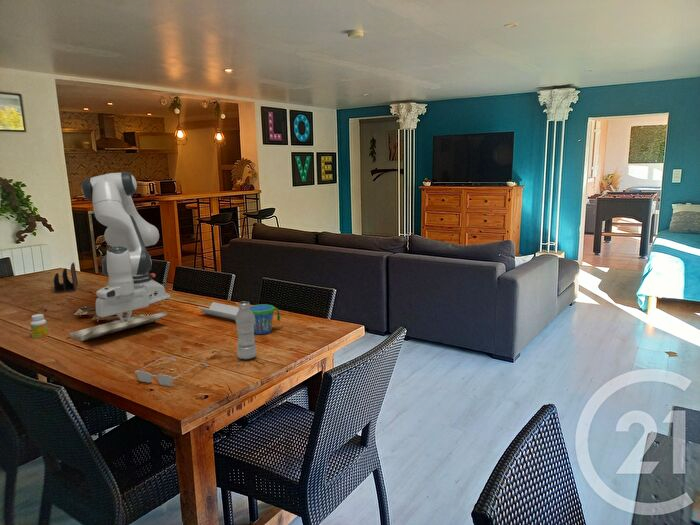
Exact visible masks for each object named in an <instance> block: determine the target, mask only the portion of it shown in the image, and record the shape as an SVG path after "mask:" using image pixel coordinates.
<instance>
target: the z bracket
mask: <svg viewBox="0 0 700 525" xmlns="http://www.w3.org/2000/svg"><path fill="white" fill-rule="evenodd" d="M238 307H239V306H235V305H229V304H223V303H219V302H215V301H212V303H211V304H210V306H209V308H207V307H202V306H197V308H198V309H199V310H200V311H202V312H203V313H204V314H205V315H210V316H214V317H219V318H224V319H229V320H232V321H236V320H235V317H236V315H237V313H238V311H239V308H238Z"/></svg>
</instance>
